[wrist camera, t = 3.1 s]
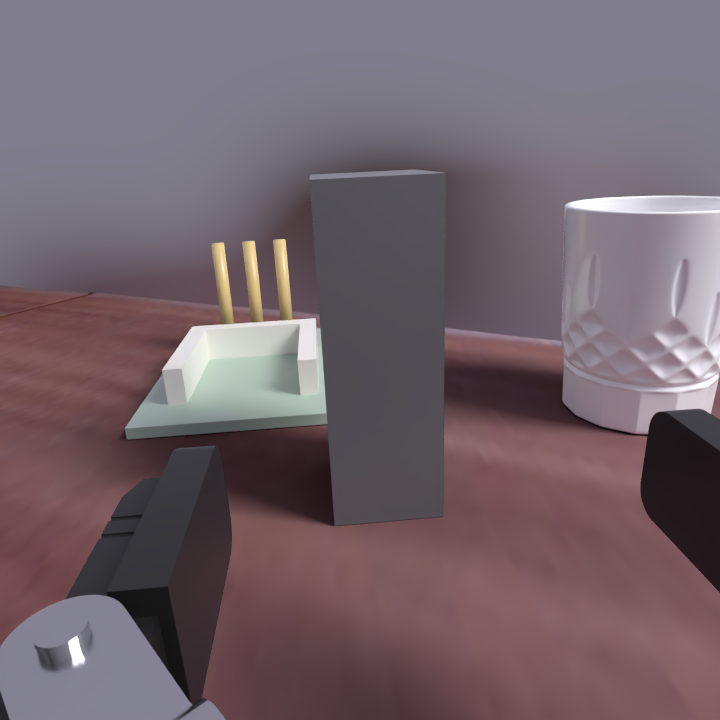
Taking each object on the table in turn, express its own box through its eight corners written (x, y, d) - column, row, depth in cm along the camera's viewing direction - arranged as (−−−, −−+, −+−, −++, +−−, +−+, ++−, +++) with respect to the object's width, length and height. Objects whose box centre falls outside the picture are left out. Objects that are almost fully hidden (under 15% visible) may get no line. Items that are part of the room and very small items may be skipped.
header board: (350, 422, 28) (341, 272, 26) (126, 439, 28) (95, 287, 25) (337, 334, 42) (331, 231, 40) (189, 344, 42) (172, 240, 39)
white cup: (555, 371, 34) (569, 197, 30) (708, 385, 31) (742, 194, 27) (544, 429, 27) (560, 212, 23) (739, 454, 24) (790, 211, 20)
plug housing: (443, 516, 21) (445, 172, 17) (334, 525, 20) (309, 179, 16) (418, 449, 25) (415, 169, 21) (330, 456, 25) (310, 174, 21)
